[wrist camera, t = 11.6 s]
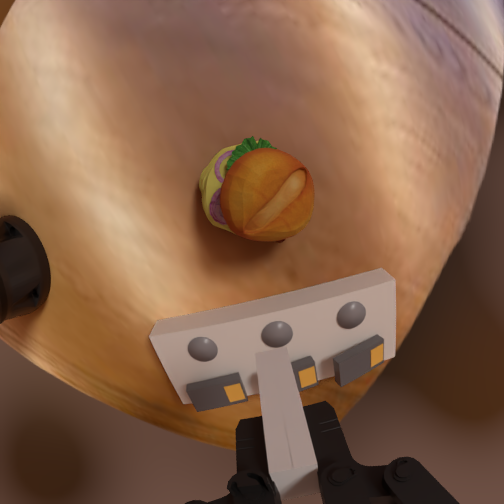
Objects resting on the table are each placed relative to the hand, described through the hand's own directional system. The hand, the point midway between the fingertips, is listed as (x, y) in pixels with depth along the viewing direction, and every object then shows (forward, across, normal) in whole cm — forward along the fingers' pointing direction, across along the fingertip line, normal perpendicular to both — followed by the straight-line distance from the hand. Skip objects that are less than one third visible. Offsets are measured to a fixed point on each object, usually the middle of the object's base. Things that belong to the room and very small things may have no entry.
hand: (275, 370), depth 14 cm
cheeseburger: (+22, +2, +6) cm, 23 cm away
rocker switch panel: (+21, +1, -13) cm, 25 cm away
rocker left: (+17, -8, -16) cm, 24 cm away
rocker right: (+16, +10, -16) cm, 24 cm away
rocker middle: (+16, +1, -16) cm, 23 cm away
